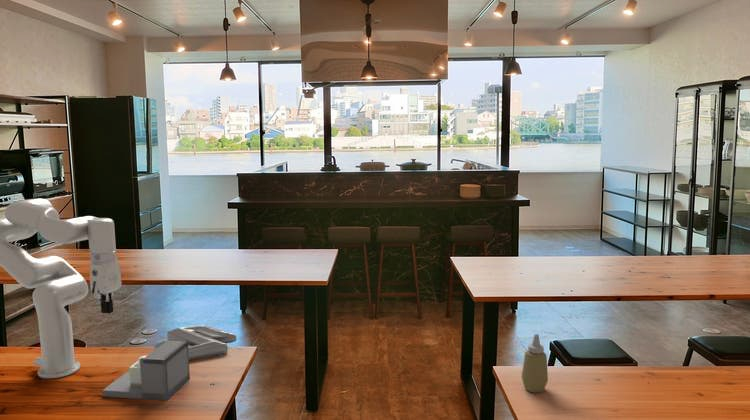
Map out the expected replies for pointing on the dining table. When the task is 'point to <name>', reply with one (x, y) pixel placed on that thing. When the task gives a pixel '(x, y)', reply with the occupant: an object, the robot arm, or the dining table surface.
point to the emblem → (202, 340)
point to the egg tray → (135, 373)
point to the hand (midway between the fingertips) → (107, 312)
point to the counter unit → (156, 374)
